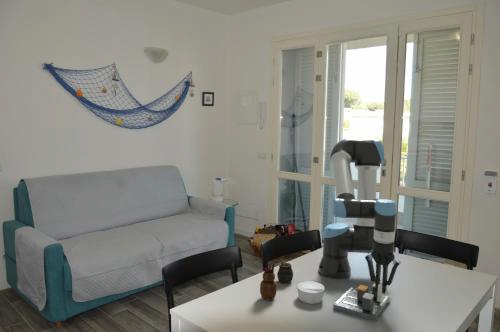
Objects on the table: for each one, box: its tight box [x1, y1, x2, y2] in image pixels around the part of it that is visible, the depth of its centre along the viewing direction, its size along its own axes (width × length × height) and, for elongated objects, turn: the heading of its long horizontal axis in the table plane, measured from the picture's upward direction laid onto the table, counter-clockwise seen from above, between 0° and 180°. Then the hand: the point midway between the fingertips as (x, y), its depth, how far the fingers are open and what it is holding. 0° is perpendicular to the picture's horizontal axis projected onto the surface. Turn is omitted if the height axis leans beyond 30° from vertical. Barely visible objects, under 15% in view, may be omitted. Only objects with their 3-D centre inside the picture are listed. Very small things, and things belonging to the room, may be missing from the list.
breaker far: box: [371, 282, 378, 298], centre depth 157 cm, size 3×4×5 cm
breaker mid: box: [357, 284, 369, 301], centre depth 154 cm, size 3×4×5 cm
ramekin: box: [296, 280, 326, 305], centre depth 159 cm, size 11×11×5 cm
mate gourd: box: [276, 257, 294, 285], centre depth 176 cm, size 7×8×10 cm
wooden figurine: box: [259, 262, 278, 301], centre depth 158 cm, size 7×6×15 cm
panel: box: [332, 286, 391, 322], centre depth 155 cm, size 16×20×2 cm
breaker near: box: [362, 293, 374, 311], centre depth 147 cm, size 3×4×5 cm
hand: (380, 300), depth 151 cm, fingers closed
